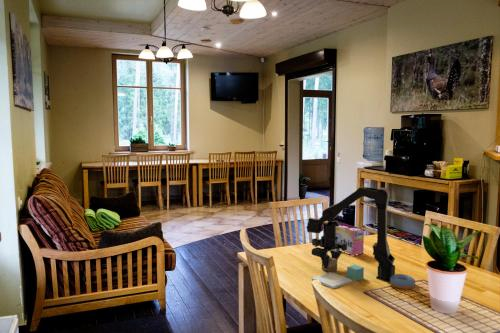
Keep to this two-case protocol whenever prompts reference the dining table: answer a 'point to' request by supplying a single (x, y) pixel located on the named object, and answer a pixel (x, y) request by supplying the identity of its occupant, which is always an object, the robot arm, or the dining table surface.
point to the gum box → (350, 238)
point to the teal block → (355, 272)
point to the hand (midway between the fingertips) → (329, 267)
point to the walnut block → (331, 265)
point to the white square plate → (332, 280)
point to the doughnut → (402, 281)
